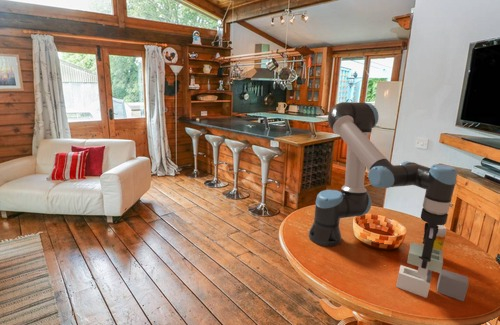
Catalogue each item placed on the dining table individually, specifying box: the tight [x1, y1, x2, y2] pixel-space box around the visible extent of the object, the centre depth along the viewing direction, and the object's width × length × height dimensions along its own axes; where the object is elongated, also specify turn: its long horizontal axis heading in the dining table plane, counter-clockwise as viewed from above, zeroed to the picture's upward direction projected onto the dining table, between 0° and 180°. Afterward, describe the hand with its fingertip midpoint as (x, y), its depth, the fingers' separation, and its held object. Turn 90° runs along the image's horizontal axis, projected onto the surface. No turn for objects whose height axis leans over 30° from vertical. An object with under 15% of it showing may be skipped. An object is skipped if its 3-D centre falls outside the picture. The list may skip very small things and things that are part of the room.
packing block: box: [436, 268, 469, 302], centre depth 104 cm, size 8×5×7 cm, turn 57°
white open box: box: [395, 264, 433, 299], centre depth 105 cm, size 10×6×10 cm, turn 57°
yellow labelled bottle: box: [433, 225, 447, 251], centre depth 125 cm, size 6×6×15 cm
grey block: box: [406, 241, 444, 274], centre depth 102 cm, size 10×9×4 cm
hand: (422, 267), depth 103 cm, fingers closed on grey block, 9 cm apart
